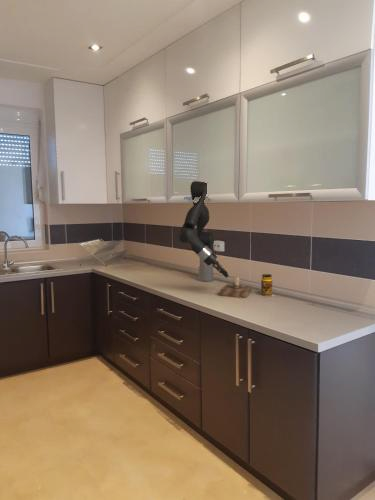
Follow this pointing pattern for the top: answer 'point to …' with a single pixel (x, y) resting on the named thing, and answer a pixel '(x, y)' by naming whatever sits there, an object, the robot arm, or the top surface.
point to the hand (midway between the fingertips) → (227, 275)
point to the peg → (236, 282)
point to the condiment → (266, 285)
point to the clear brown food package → (236, 291)
